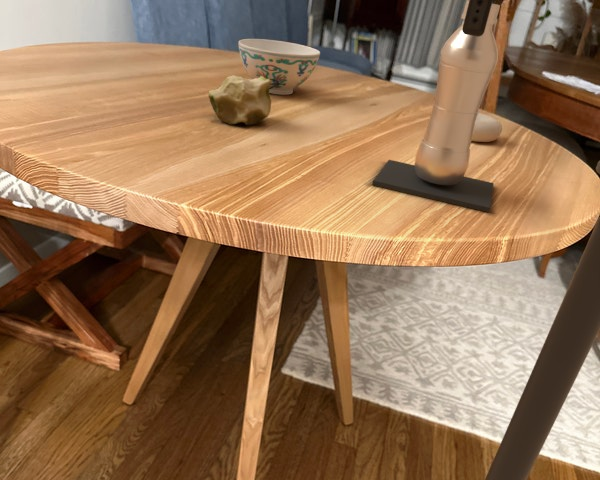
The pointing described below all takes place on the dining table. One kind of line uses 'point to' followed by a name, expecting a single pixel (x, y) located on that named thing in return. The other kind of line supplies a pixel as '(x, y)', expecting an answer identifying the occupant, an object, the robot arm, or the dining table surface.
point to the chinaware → (278, 62)
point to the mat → (435, 187)
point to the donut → (486, 128)
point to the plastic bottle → (457, 103)
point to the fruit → (242, 100)
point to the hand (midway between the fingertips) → (474, 32)
